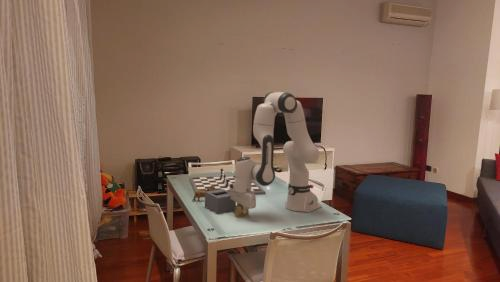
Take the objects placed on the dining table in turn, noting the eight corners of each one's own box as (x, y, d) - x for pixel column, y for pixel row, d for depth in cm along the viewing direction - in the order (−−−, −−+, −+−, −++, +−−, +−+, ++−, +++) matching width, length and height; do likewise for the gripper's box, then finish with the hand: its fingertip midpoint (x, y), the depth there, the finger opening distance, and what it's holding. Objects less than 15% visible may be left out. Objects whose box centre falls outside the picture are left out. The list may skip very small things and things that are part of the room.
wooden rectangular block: (245, 213, 200) (246, 203, 200) (248, 215, 198) (248, 204, 198) (235, 216, 196) (235, 205, 195) (237, 217, 194) (238, 206, 193)
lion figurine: (213, 198, 226) (213, 184, 225) (216, 200, 222) (216, 186, 220) (190, 200, 220) (190, 186, 218) (193, 203, 215) (193, 188, 214)
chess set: (189, 180, 270) (189, 165, 268) (247, 178, 282) (248, 164, 280) (196, 198, 227) (197, 180, 225) (265, 195, 239) (266, 178, 237)
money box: (222, 203, 217) (222, 188, 215) (235, 210, 206) (236, 194, 204) (204, 206, 210) (205, 191, 208) (217, 214, 198) (217, 198, 197)
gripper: (259, 191, 189) (258, 216, 191) (237, 182, 205) (236, 205, 207) (249, 192, 185) (248, 218, 187) (227, 183, 201) (227, 207, 203)
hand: (242, 211), depth 197 cm, fingers closed on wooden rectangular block, 2 cm apart
